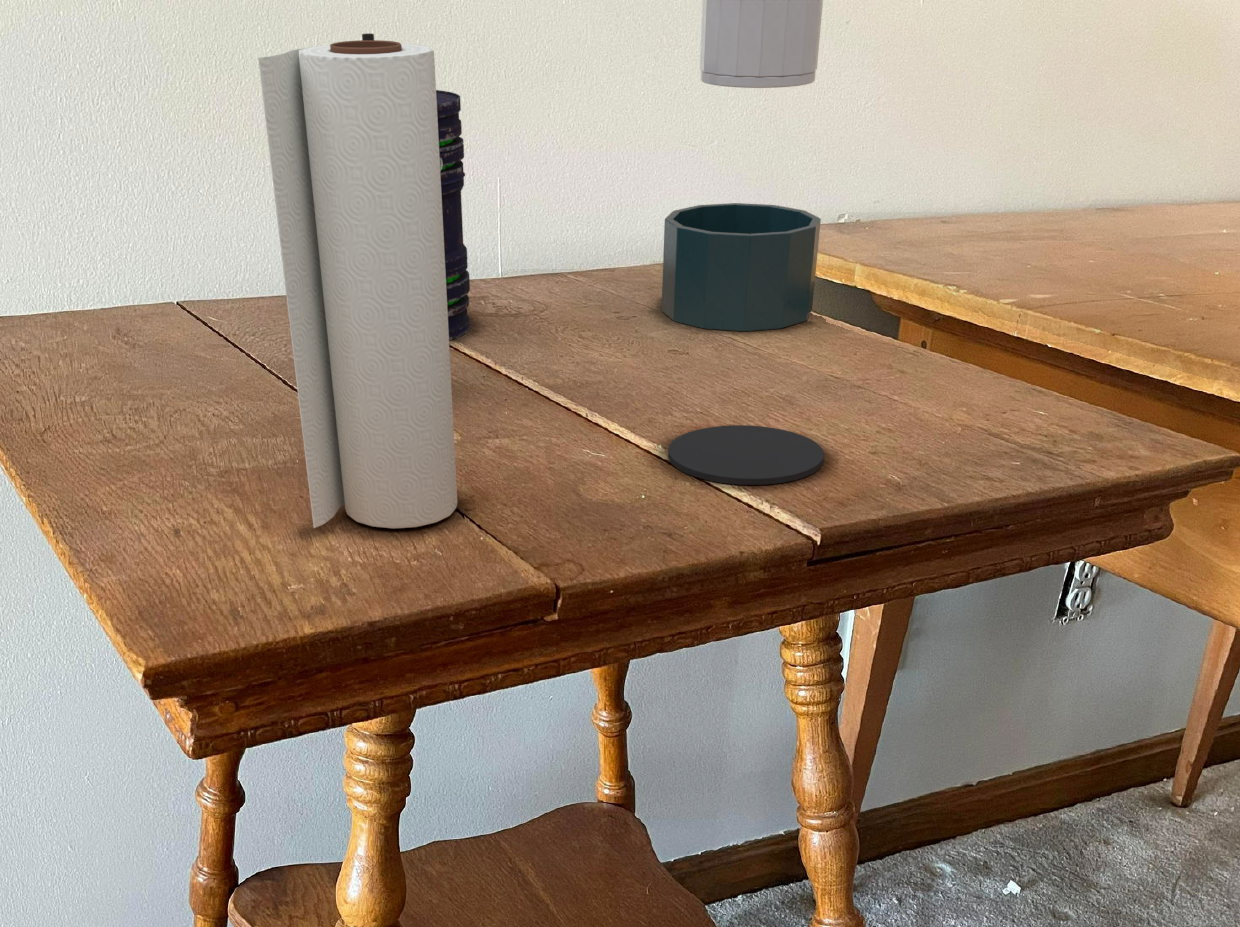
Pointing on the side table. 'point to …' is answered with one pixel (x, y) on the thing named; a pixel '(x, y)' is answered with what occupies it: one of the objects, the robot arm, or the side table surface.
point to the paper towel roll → (365, 276)
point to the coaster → (745, 455)
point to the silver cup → (760, 42)
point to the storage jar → (453, 212)
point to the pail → (739, 266)
